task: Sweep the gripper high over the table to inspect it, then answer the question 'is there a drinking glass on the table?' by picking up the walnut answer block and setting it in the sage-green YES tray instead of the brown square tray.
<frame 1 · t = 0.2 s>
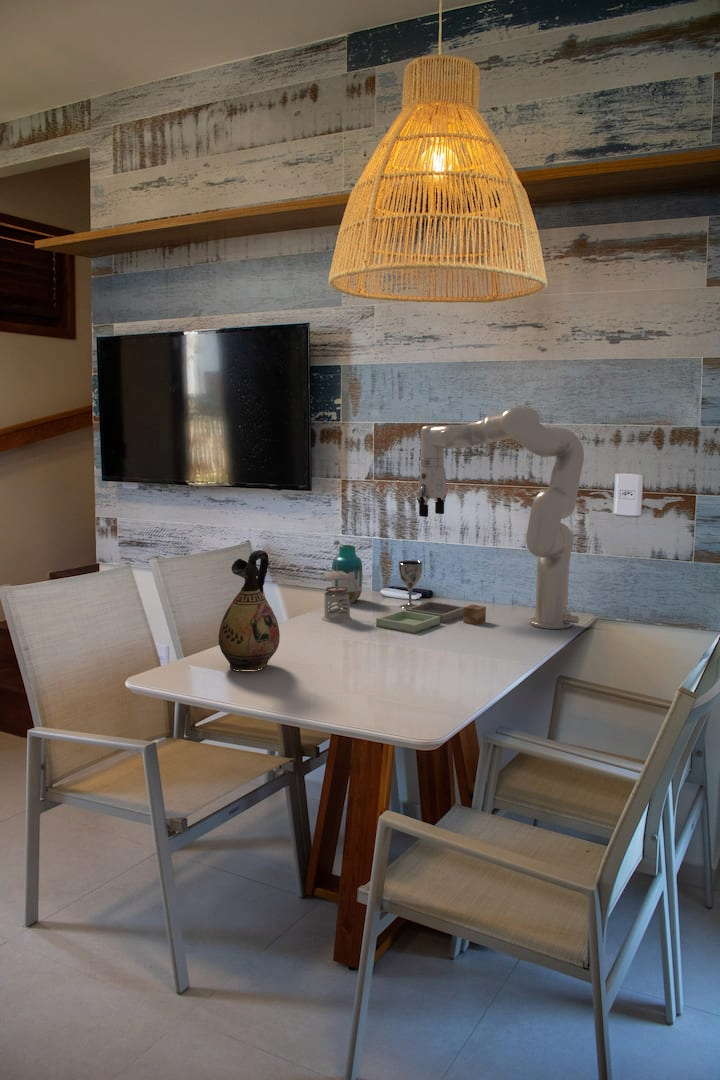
hand: (431, 515, 288), 31 cm above the table, fingers open, 9 cm apart
vase: (347, 601, 300), on the table
answer block: (474, 622, 270), on the table
wine glass: (409, 607, 291), on the table
brown square tray: (436, 615, 278), on the table
ceramic jug: (251, 667, 223), on the table
french press: (339, 619, 274), on the table
yes tray: (408, 625, 266), on the table
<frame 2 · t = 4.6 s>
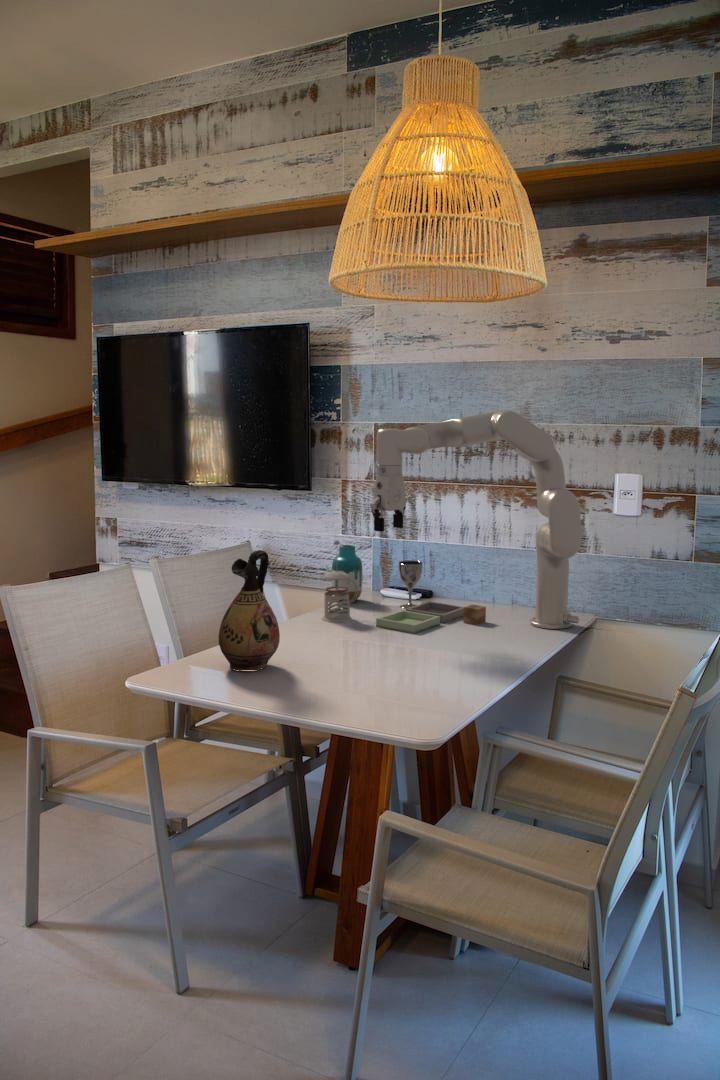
hand: (388, 529, 256), 30 cm above the table, fingers open, 9 cm apart
nothing on the table moved.
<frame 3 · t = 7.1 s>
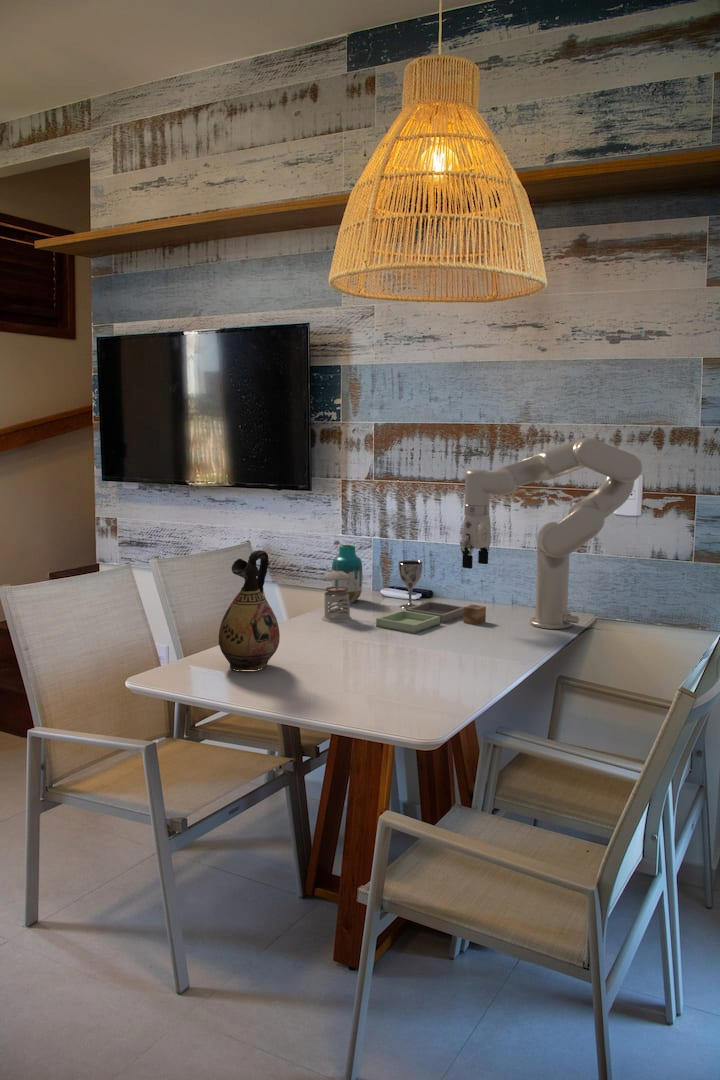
hand: (475, 565, 267), 18 cm above the table, fingers open, 9 cm apart
nothing on the table moved.
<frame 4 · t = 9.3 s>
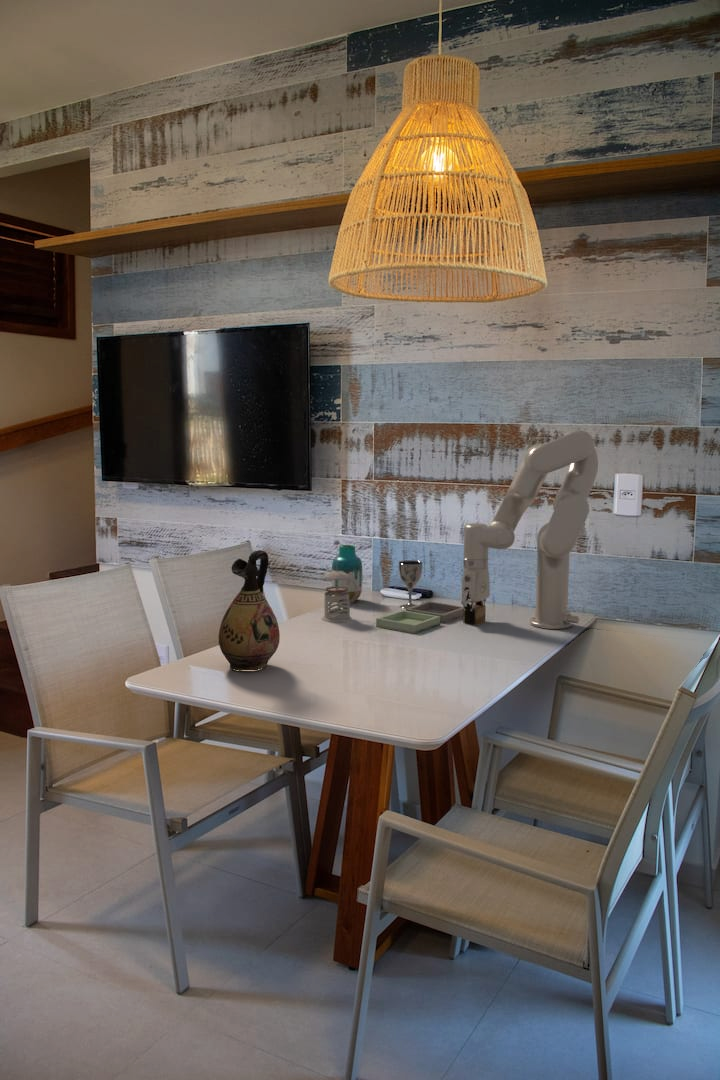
hand: (474, 620, 270), 0 cm above the table, fingers closed on answer block, 5 cm apart
answer block: (474, 622, 270), on the table, touching gripper
everything else where it was.
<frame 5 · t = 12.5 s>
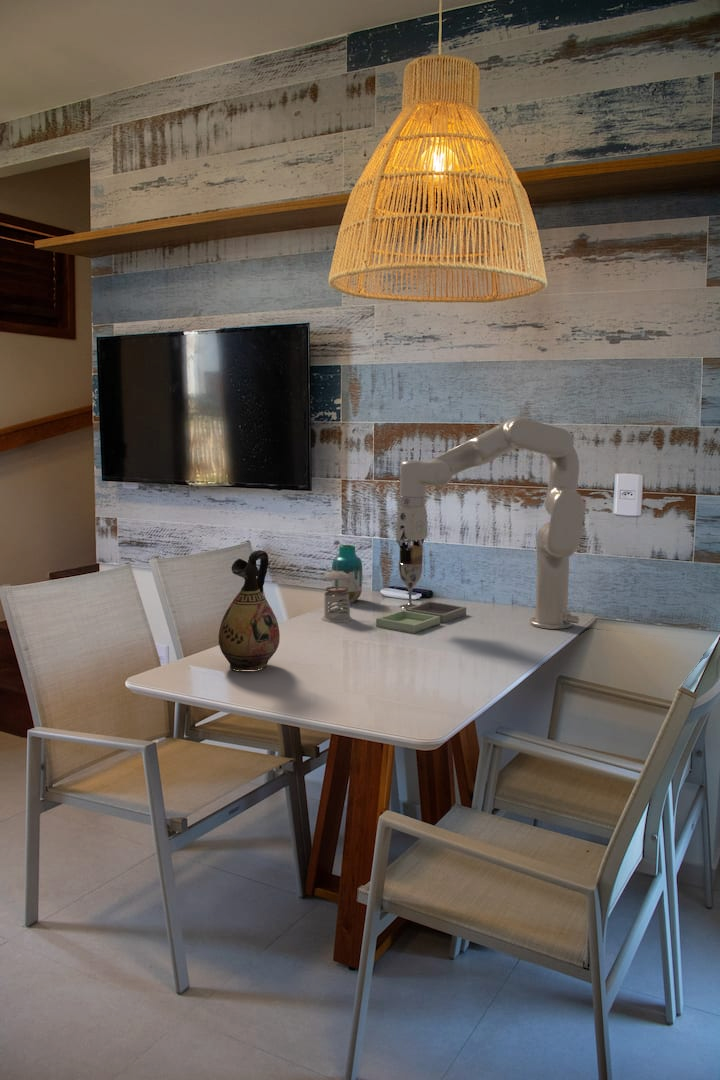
hand: (411, 561, 263), 20 cm above the table, fingers closed on answer block, 5 cm apart
answer block: (410, 562, 263), point 19 cm above the table, touching gripper
everything else where it was.
when the fingers open (3 cm above the table, at t = 16.1 s): answer block drops 2 cm, resting on yes tray.
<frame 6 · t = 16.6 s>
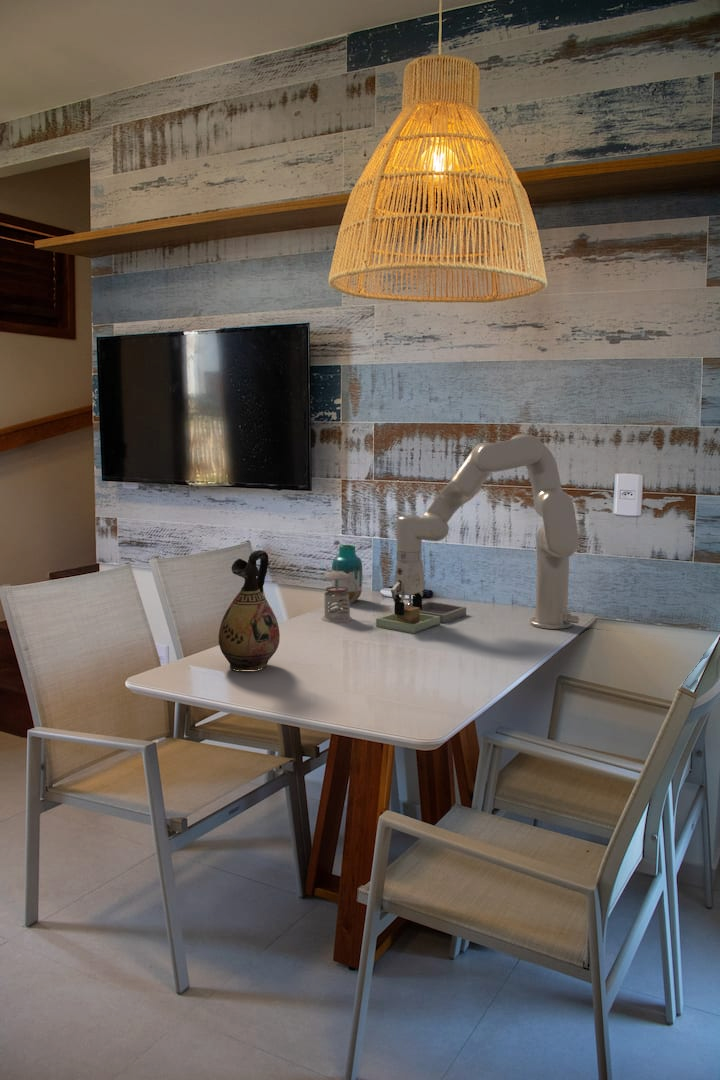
hand: (408, 611, 265), 4 cm above the table, fingers open, 9 cm apart
answer block: (408, 623, 265), resting on yes tray
everything else where it was.
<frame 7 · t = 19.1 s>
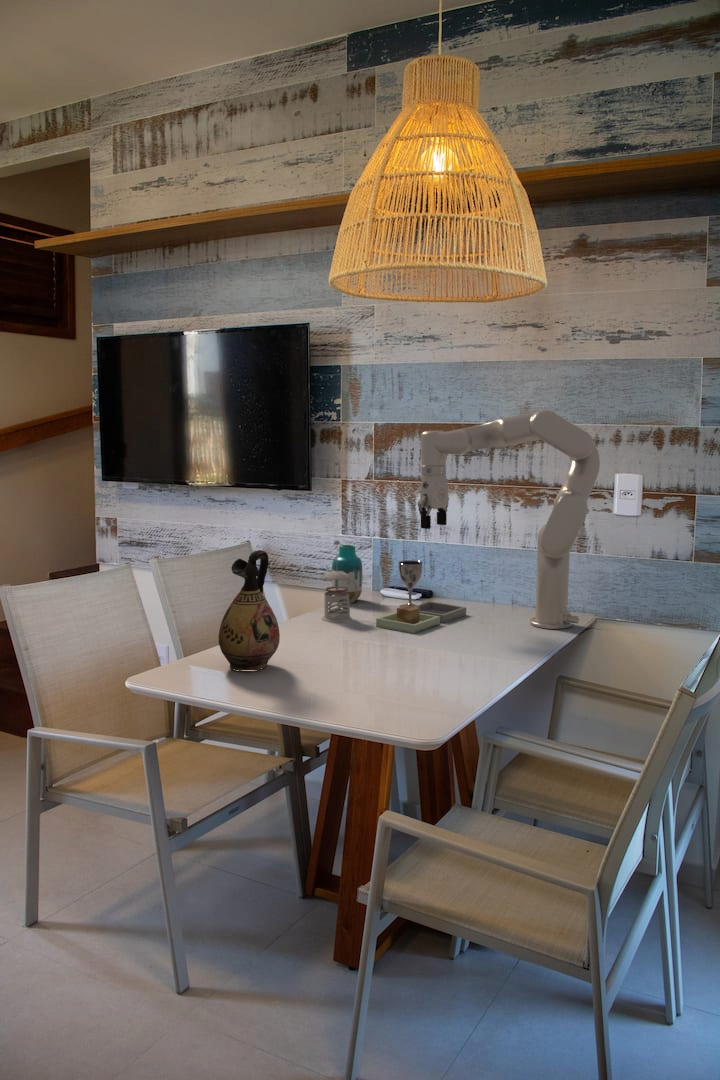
hand: (433, 526, 269), 29 cm above the table, fingers open, 9 cm apart
nothing on the table moved.
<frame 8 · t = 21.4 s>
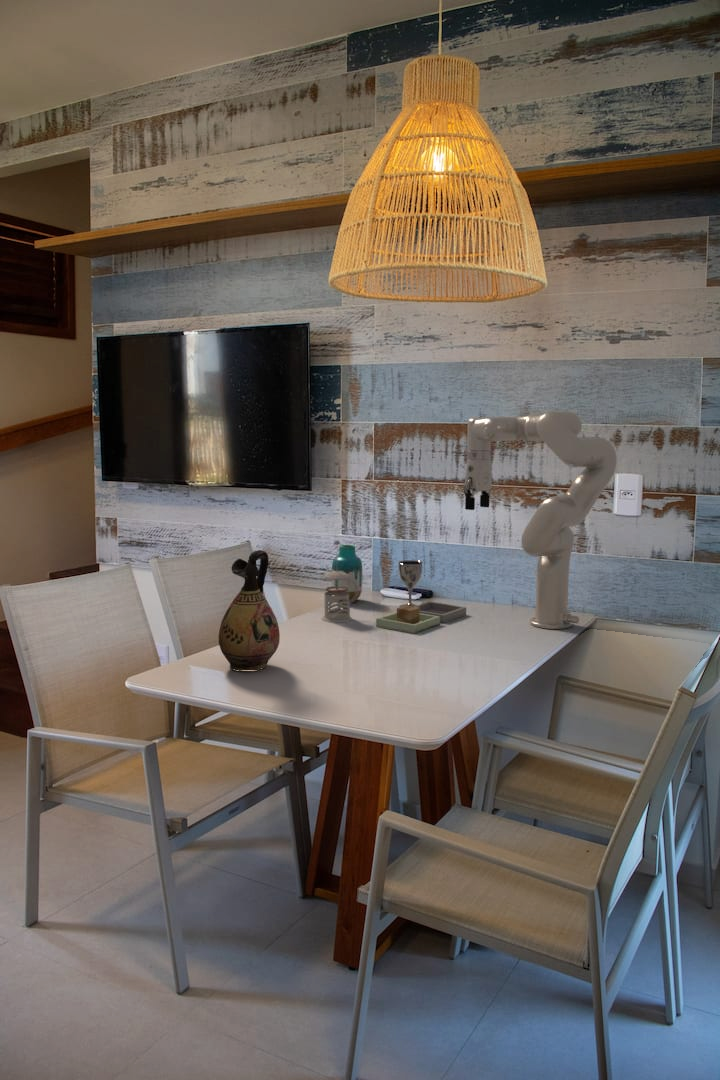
hand: (477, 508, 285), 33 cm above the table, fingers open, 9 cm apart
nothing on the table moved.
at the end: answer block inside the target area on the yes tray (0.1 cm from its centre), point 0.5 cm above the yes tray's base; the gripper is holding nothing; wine glass moved 0.2 cm from its start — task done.
